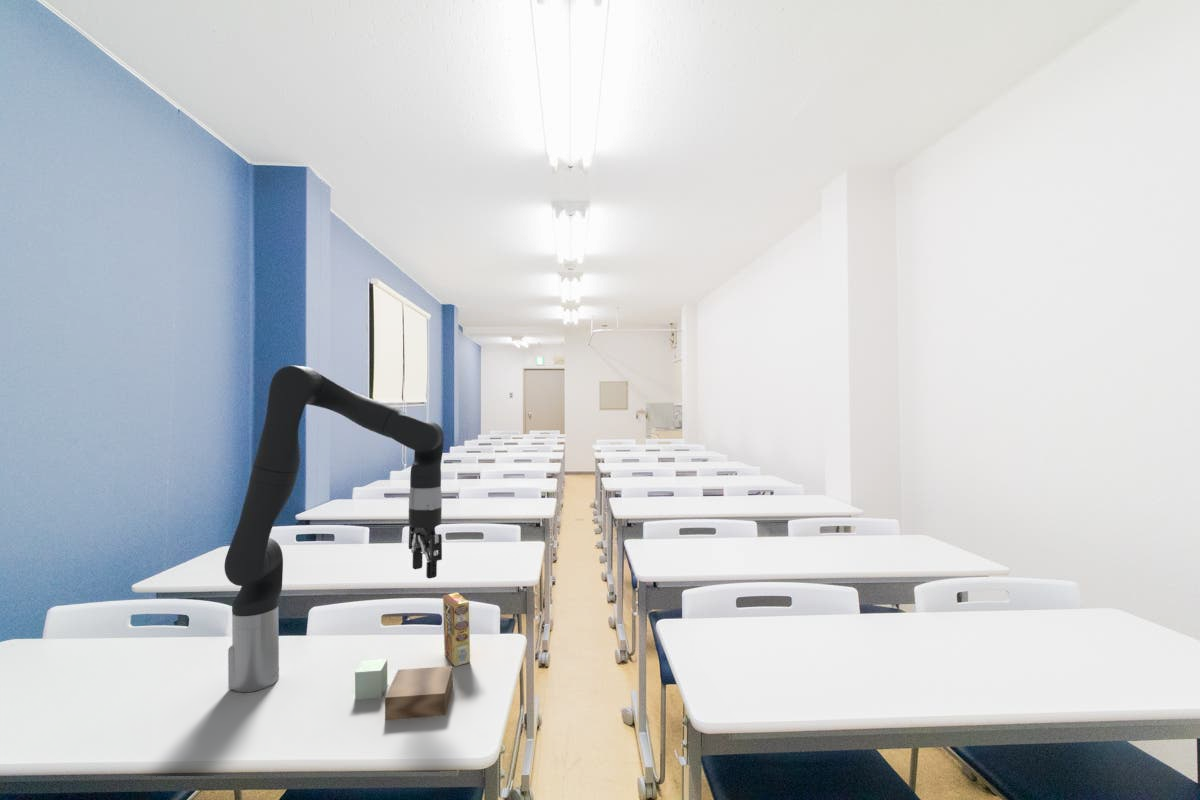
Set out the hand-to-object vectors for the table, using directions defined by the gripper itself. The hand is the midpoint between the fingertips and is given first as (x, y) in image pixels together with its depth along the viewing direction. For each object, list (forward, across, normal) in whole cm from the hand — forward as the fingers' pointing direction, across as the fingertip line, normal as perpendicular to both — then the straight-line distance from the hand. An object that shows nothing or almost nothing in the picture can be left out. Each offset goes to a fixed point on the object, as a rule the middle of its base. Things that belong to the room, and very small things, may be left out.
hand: (424, 573), depth 134 cm
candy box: (+24, -3, +10) cm, 27 cm away
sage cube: (+25, 0, -12) cm, 27 cm away
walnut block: (+25, +12, -5) cm, 28 cm away
